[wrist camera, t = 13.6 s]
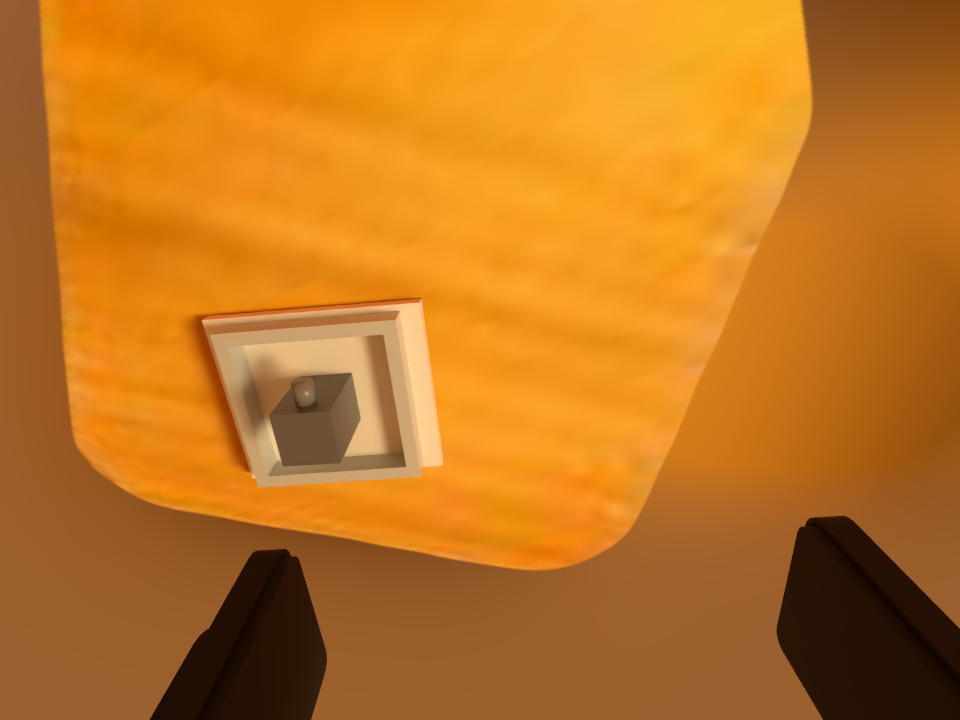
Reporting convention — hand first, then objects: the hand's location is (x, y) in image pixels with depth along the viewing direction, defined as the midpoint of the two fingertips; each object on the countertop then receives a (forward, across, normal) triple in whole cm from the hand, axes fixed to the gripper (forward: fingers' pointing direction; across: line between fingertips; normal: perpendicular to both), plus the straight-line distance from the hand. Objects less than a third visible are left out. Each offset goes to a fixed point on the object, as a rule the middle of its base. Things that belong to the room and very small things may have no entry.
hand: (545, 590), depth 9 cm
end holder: (+28, +14, +9) cm, 33 cm away
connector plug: (+27, +14, +9) cm, 32 cm away
